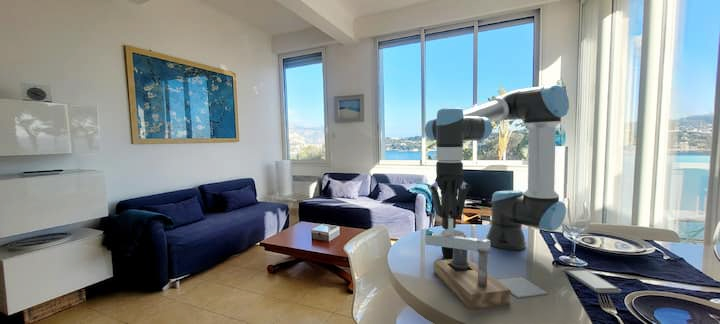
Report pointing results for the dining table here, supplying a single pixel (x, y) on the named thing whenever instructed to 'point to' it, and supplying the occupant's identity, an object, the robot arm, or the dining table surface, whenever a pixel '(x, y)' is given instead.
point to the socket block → (473, 283)
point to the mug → (449, 251)
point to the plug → (459, 260)
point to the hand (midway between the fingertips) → (448, 238)
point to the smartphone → (592, 280)
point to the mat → (522, 287)
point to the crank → (457, 242)
